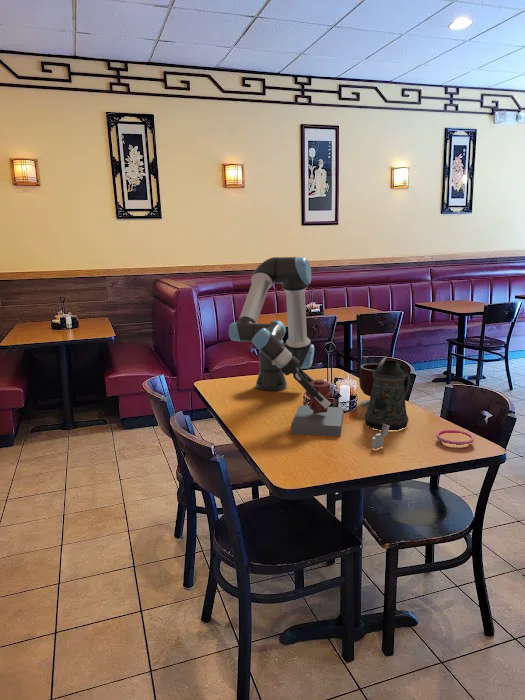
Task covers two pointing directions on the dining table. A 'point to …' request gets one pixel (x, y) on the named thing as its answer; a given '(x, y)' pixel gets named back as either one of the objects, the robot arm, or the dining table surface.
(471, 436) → the pink torus ring
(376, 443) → the lighter
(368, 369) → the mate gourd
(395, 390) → the beer stein
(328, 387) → the mechanical component
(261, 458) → the dining table surface
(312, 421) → the plate
